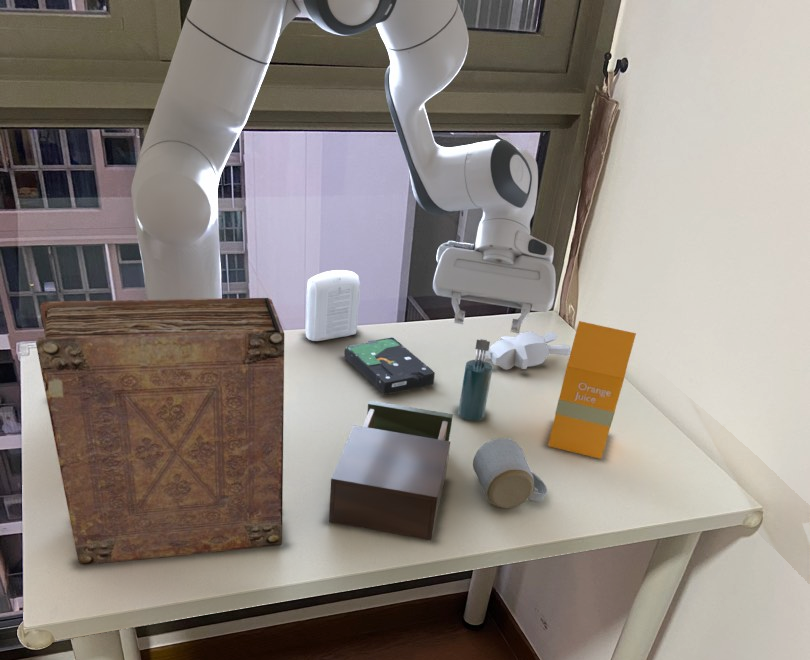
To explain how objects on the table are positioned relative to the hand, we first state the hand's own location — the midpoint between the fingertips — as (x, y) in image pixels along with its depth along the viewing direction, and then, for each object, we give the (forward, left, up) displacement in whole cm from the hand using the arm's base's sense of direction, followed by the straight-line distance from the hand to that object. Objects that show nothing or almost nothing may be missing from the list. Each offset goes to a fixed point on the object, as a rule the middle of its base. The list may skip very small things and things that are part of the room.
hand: (486, 327), depth 139 cm
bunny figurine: (+8, +16, -13) cm, 22 cm away
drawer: (-9, -24, -12) cm, 28 cm away
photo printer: (-29, +14, -13) cm, 35 cm away
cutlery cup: (0, -7, -13) cm, 15 cm away
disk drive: (-16, +3, -13) cm, 21 cm away
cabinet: (-9, -36, -13) cm, 39 cm away
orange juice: (+18, -10, -13) cm, 24 cm away
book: (-34, -50, -13) cm, 62 cm away
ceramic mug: (+8, -29, -13) cm, 32 cm away
